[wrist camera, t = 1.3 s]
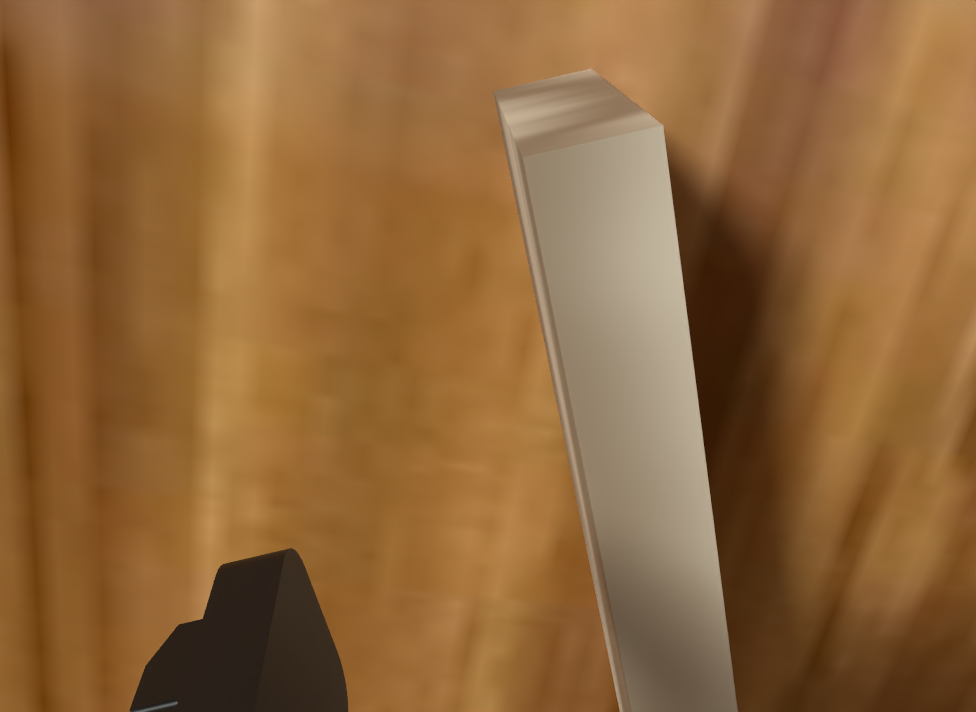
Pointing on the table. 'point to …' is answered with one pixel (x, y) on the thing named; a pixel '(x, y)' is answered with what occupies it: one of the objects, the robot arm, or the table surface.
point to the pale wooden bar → (623, 381)
